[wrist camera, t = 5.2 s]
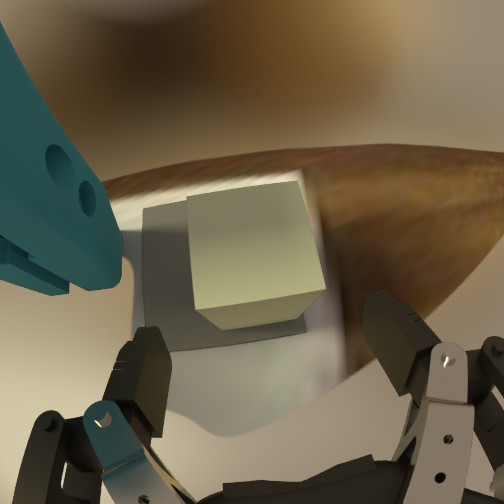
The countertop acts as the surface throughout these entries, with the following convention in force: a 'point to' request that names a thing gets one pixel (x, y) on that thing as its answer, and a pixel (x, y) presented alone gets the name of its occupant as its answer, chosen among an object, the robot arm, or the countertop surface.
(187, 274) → the marker mat
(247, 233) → the sage block
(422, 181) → the countertop surface
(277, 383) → the countertop surface
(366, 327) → the robot arm
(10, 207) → the block
